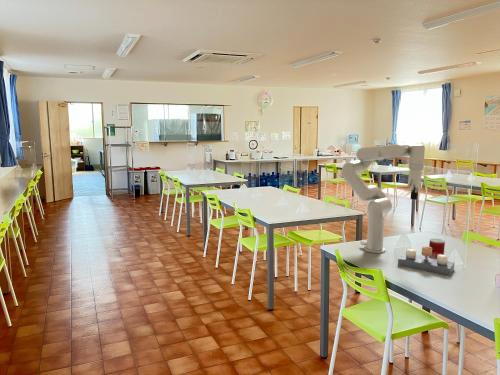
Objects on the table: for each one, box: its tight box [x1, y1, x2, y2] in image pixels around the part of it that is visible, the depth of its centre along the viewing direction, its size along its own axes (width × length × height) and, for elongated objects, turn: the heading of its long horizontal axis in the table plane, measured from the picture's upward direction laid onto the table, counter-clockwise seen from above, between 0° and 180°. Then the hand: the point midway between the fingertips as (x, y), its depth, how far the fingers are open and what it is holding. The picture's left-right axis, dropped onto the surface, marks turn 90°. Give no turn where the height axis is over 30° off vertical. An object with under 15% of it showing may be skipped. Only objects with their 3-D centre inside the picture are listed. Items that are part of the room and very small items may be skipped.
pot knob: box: [421, 245, 432, 261], centre depth 223 cm, size 5×5×8 cm
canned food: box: [428, 238, 446, 259], centre depth 238 cm, size 8×8×11 cm
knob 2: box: [437, 254, 449, 265], centre depth 218 cm, size 5×5×8 cm
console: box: [397, 252, 455, 277], centre depth 224 cm, size 26×12×4 cm, turn 54°
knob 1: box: [405, 248, 417, 259], centre depth 228 cm, size 5×5×8 cm
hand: (413, 199), depth 232 cm, fingers closed
